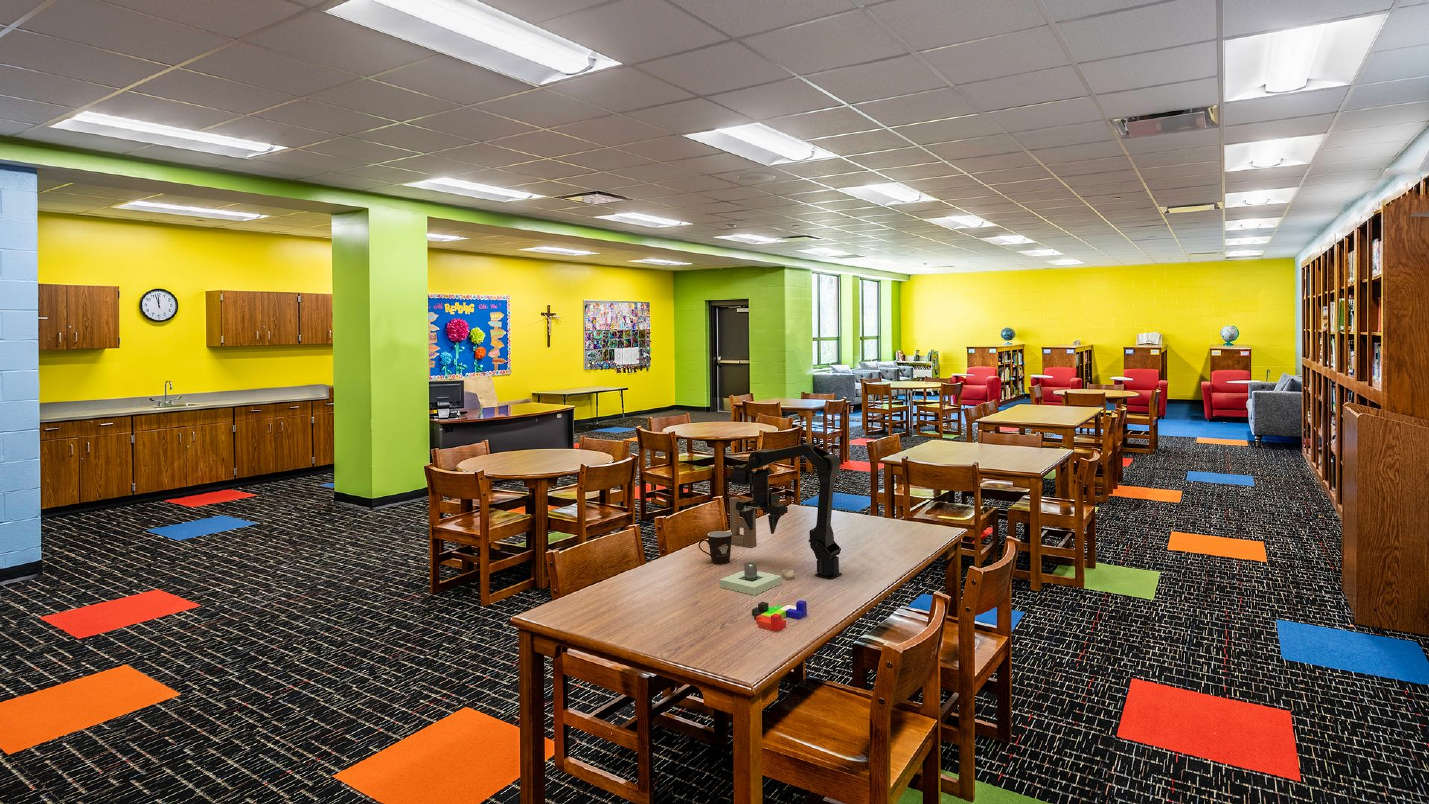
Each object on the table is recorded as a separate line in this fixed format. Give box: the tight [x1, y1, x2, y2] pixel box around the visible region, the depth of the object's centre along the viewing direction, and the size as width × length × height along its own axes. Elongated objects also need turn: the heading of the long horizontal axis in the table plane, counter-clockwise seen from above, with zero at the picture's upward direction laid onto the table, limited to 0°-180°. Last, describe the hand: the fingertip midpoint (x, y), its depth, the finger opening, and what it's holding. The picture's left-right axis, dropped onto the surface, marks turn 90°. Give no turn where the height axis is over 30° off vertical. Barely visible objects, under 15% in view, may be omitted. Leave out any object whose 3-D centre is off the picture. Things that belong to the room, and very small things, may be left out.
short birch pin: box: [781, 568, 795, 581], centre depth 254 cm, size 4×4×2 cm
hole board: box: [719, 570, 783, 596], centre depth 247 cm, size 14×14×2 cm
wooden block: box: [728, 496, 757, 549], centre depth 297 cm, size 4×11×18 cm, turn 51°
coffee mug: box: [697, 530, 732, 565], centre depth 275 cm, size 12×9×10 cm
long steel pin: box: [743, 561, 758, 582], centre depth 247 cm, size 4×4×7 cm
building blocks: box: [751, 599, 808, 632], centre depth 217 cm, size 15×13×4 cm
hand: (761, 532), depth 267 cm, fingers open, 9 cm apart
